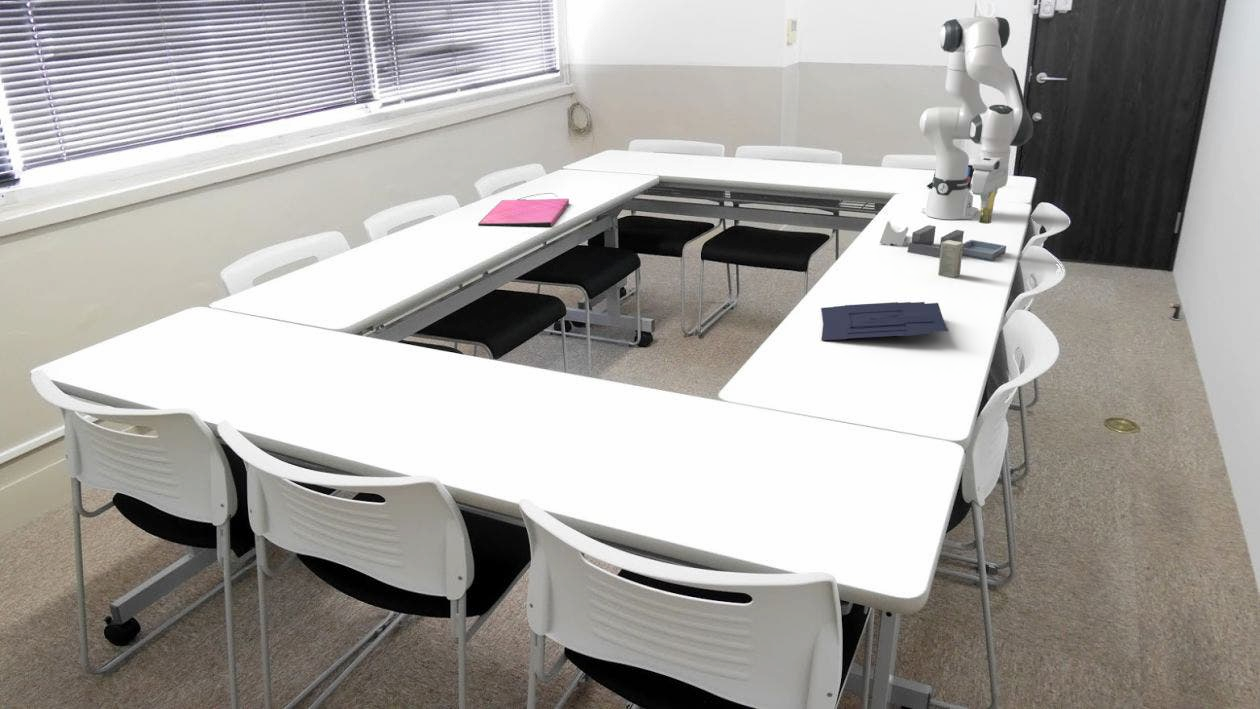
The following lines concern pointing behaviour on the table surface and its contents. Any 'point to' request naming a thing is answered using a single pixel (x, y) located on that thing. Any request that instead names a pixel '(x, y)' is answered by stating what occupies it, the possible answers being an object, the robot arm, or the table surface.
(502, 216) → the laptop bag
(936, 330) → the navy flat slab
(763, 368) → the table surface
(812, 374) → the table surface
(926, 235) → the clevis block
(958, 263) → the skincare box
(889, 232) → the bracket
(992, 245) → the tray
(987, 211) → the pin
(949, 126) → the robot arm
